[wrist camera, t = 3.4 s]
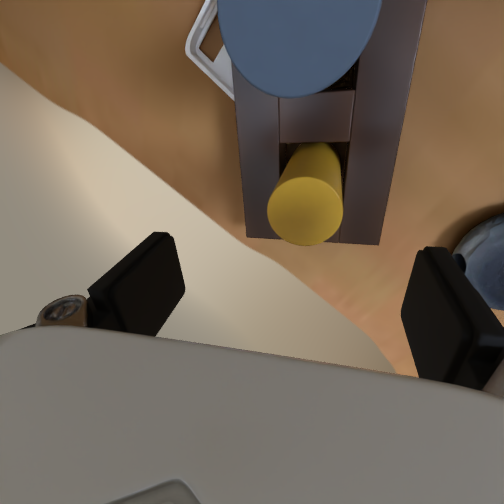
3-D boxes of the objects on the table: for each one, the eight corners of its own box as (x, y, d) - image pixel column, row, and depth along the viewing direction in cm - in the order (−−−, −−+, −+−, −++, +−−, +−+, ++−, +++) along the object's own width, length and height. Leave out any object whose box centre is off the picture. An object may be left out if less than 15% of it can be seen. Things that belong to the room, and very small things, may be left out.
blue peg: (355, 7, 17) (404, -154, 5) (347, 81, 20) (370, 93, 7) (291, 15, 18) (204, -103, 6) (290, 86, 20) (225, 102, 8)
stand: (429, -84, 15) (451, -122, 12) (373, 225, 24) (378, 245, 22) (238, -47, 17) (219, -70, 15) (255, 220, 27) (246, 237, 24)
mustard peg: (342, 138, 21) (347, 177, 13) (337, 188, 24) (339, 248, 15) (290, 139, 22) (265, 176, 14) (290, 187, 24) (268, 244, 16)
